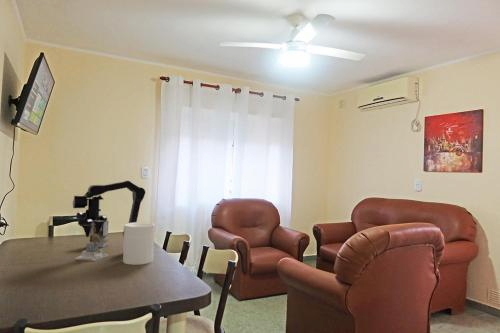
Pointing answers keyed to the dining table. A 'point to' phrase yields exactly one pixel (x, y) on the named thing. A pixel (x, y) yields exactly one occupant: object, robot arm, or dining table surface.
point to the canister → (138, 243)
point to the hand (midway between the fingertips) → (92, 235)
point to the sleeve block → (91, 255)
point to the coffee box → (99, 235)
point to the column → (92, 246)
